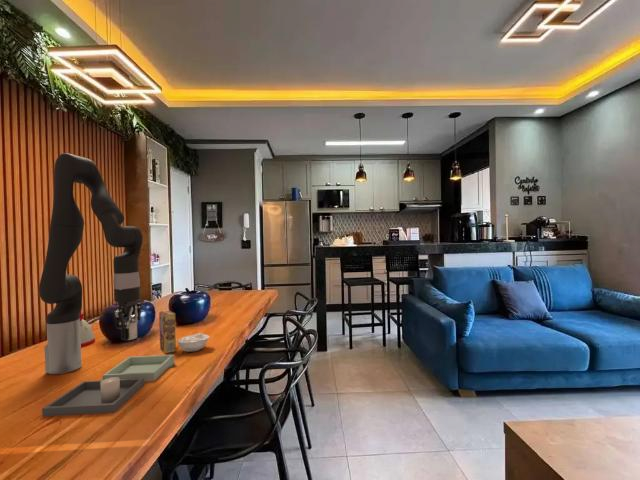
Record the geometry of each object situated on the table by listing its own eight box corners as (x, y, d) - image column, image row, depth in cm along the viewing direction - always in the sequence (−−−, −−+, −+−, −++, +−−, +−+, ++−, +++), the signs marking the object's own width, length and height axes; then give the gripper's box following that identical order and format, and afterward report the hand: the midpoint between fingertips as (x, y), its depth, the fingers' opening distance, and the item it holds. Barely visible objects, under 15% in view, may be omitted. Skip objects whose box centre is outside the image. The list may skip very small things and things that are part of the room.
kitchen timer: (75, 350, 136) (73, 314, 136) (46, 349, 138) (45, 314, 138) (102, 339, 149) (101, 307, 149) (76, 339, 152) (75, 307, 151)
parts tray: (42, 420, 83) (42, 408, 83) (84, 391, 98) (83, 381, 98) (114, 416, 83) (113, 404, 83) (144, 387, 99) (143, 378, 99)
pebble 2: (118, 340, 106) (118, 325, 106) (126, 336, 111) (125, 321, 111) (133, 339, 107) (132, 324, 106) (139, 335, 111) (139, 321, 111)
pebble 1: (97, 403, 89) (96, 384, 89) (107, 394, 93) (106, 377, 93) (114, 402, 89) (113, 383, 89) (123, 394, 93) (122, 376, 93)
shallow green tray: (102, 386, 101) (102, 375, 101) (129, 366, 116) (129, 356, 116) (154, 384, 102) (154, 372, 101) (174, 364, 117) (174, 354, 117)
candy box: (177, 351, 131) (175, 313, 131) (165, 354, 128) (163, 315, 128) (170, 345, 138) (169, 309, 137) (159, 348, 135) (158, 311, 135)
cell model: (178, 348, 134) (177, 332, 134) (209, 344, 138) (208, 328, 138) (177, 357, 125) (176, 339, 124) (210, 352, 129) (209, 335, 129)
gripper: (127, 283, 115) (129, 331, 116) (102, 290, 101) (104, 345, 101) (148, 282, 116) (150, 330, 116) (127, 289, 101) (129, 344, 102)
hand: (129, 337), depth 109 cm, fingers closed on pebble 2, 4 cm apart
